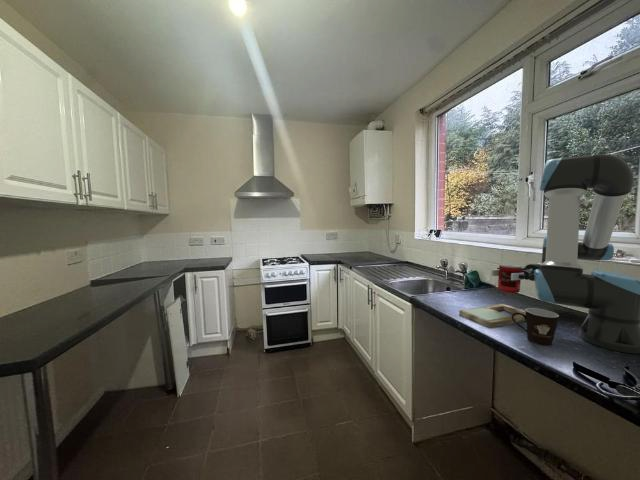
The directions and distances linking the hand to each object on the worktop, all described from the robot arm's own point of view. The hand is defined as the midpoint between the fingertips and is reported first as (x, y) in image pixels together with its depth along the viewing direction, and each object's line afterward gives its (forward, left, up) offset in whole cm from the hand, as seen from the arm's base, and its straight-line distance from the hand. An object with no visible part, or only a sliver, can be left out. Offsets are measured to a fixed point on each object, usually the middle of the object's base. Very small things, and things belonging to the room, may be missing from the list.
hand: (501, 274), depth 110 cm
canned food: (0, -5, -7) cm, 9 cm away
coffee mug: (-19, +10, -18) cm, 28 cm away
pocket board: (0, +2, -18) cm, 18 cm away
